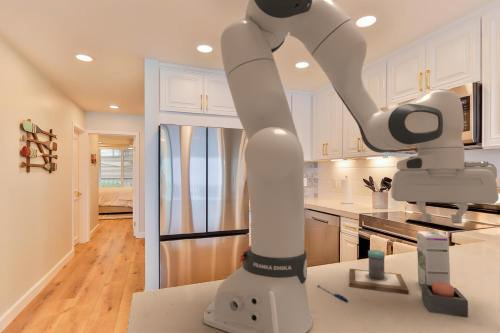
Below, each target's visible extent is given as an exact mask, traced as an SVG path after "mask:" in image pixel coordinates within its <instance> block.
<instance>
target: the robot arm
mask: <svg viewBox="0 0 500 333" xmlns="http://www.w3.org/2000/svg"><path fill="white" fill-rule="evenodd" d="M288 35H289V36H290V37H293V38H295V39H297V40H298V41H300V42H301V43H302V44H303V46H304V48H306V50H307V52H308V53H309V54H310V56H312V58H313V60H314V61H315V62H316V63H317V64H318V65H319V67H320V68H321V70H322V71H323V72H324V74H325V76H327V78H328V80H329V82H330V84H331V85H332V87H333V89H334V92H336V94H337V96H338V97H339V99H340V100H341V102H343V105H344V106H345V107H346V109H347V110H348V113H349V114H350V115H351V116H352V118H353V119H354V121H355V123H356V125H357V127H358V128H359V133H360V136H361V139H362V142H363V144H364V145H365V146H366V147H367V149H368V150H371V151H372V152H375V153H377V154H379V153H380V154H381V153H382V154H384V153H388V152H392V151H394V150H399V149H400V150H401V149H404V148H409V147H412V146H417V155H416V156H413V155H412V156H409V157H408V158H405V159H401V160H399V161H397V163H396V168H397V169H398V171H395V173H394V174H393V177H392V183H391V193H390V194H391V198H392V199H393V200H394V201H396V202H412V203H413V202H416V208H418V210H419V212H420V213H421V216H422V217H421V220H422V222H424V223H425V222H426V223H432V214H431V213H428V212H426V210H425V209H424V208H425V207H426V203H445V204H446V203H447V204H450V203H451V204H456V208H458V209H457V211H456V213H455V214H451V215H450V216H451V221H450V222H451V223H452V224H459V225H460V224H462V223H463V222H462V221H463V216H464V214H465V213H466V212H467V210H468V209H469V207H468V204H479V205H483V204H484V205H486V204H487V205H494V204H496V203H497V201H499V189H498V184H497V181H496V179H497V178H498V169H497V167H496V166H495V164H492V163H489V162H488V161H484V160H483V161H482V160H481V161H465V145H464V142H463V139H462V138H463V132H464V130H465V128H464V127H465V126H464V125H465V120H464V109H463V104H462V100H461V98H460V96H459V94H458V93H456V92H455V91H453V90H448V89H430V90H427V91H424V92H423V93H422V94H420V96H417V97H416V98H414V99H412V100H411V101H408V102H406V103H402V104H399V105H397V106H394V107H392V108H390V109H388V110H386V111H383V110H381V109H380V108H379V107H378V105H376V103H375V101H374V99H373V98H372V96H371V94H370V93H369V92H368V90H367V89H366V87H365V86H364V83H363V80H362V71H363V67H364V66H363V65H364V62H365V59H366V55H367V48H368V47H367V41H366V39H365V36H364V35H363V33H362V31H361V29H360V27H358V25H357V24H356V23H355V22H354V21H353V19H352V18H351V17H350V15H348V13H347V11H345V10H344V9H343V8H342V7H341V6H340V5H339V4H338V3H337V2H336V1H334V0H248V4H247V6H246V10H245V17H244V19H239V20H235V21H233V22H232V23H230V24H228V25H227V26H226V27H225V28H224V30H222V34H221V35H220V52H221V59H222V65H223V70H224V74H225V77H226V81H227V85H228V89H229V91H230V95H231V98H232V102H233V105H234V109H235V111H236V115H237V117H238V118H239V121H240V125H241V126H242V129H243V131H244V133H245V136H246V138H247V139H246V140H247V143H246V145H245V148H244V149H245V150H244V161H245V162H244V163H245V169H246V170H245V171H246V172H245V173H246V181H247V182H246V184H247V192H248V199H249V207H250V208H249V209H250V245H249V246H248V247H247V248H246V249H245V250H244V251H243V252H242V254H241V255H240V256H239V258H240V259H239V262H240V263H242V266H241V267H240V268H238V269H237V270H235V271H234V272H233V273H232V274H230V275H229V276H228V277H226V278H225V279H224V280H223V281H221V284H219V286H218V289H217V290H216V294H215V298H214V300H212V302H211V303H210V304H208V306H207V307H206V309H205V311H204V312H203V318H202V319H203V324H205V325H207V326H210V327H213V328H215V329H217V330H222V331H223V332H226V333H307V332H309V331H310V330H311V329H312V326H313V324H314V323H313V322H314V319H313V316H312V314H311V313H312V312H311V310H310V305H309V300H308V294H307V292H308V291H307V284H306V280H307V278H308V258H307V252H306V250H305V196H304V194H305V192H304V189H305V188H304V185H305V184H304V182H305V180H304V172H305V171H304V170H305V169H304V167H305V166H304V159H305V158H304V156H305V154H304V149H303V146H302V143H301V142H300V138H299V136H298V133H297V128H296V125H295V122H294V120H293V116H292V113H291V112H292V111H291V109H290V106H289V101H288V99H287V98H288V97H287V95H286V92H285V89H284V86H283V83H282V80H281V77H280V73H279V70H278V66H277V63H276V60H275V58H274V53H275V52H276V51H277V50H279V49H280V48H281V47H282V45H283V44H284V42H285V40H286V38H287V36H288Z"/></svg>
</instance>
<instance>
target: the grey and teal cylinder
mask: <svg viewBox="0 0 500 333" xmlns="http://www.w3.org/2000/svg"><path fill="white" fill-rule="evenodd" d="M367 252H368V253H367V256H368V271H369V277H370V278H372V279H375V280H384V272H385V254H386V253H385V252H384V251H382V250H376V249H369V250H367Z"/></svg>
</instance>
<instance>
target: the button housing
mask: <svg viewBox="0 0 500 333" xmlns="http://www.w3.org/2000/svg"><path fill="white" fill-rule="evenodd" d="M421 299H422V302H423V303H424V305H425V306H426V308H427V310H428V312H429V313H435V314H442V315H449V316H454V317H462V318H463V317H464V318H469V301H468V299H467V298H466V297H465V296H464V294H462V292H461V291H460V290H459V289H458V288H456V287H454V297H448V296H440V295H433V291H432V285H428V284H422V286H421Z"/></svg>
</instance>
